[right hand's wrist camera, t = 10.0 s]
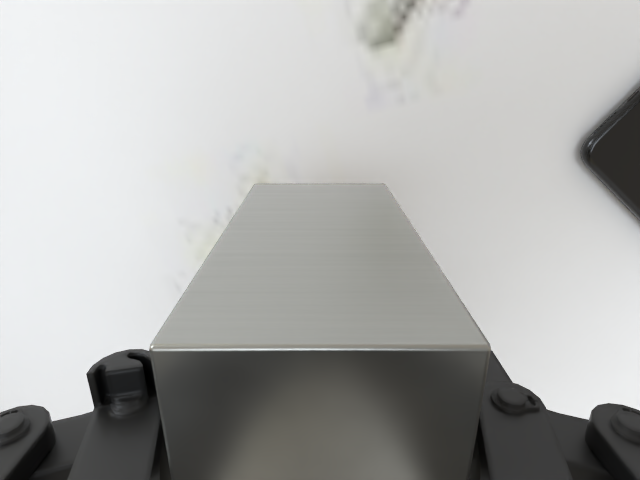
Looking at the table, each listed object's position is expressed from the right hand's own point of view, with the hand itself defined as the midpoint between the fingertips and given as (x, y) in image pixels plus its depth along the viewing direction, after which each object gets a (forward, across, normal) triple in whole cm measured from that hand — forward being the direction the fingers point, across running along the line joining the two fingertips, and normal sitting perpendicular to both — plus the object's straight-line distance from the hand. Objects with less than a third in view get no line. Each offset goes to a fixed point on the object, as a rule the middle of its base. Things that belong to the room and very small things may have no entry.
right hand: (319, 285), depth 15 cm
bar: (+1, 0, -9) cm, 9 cm away
